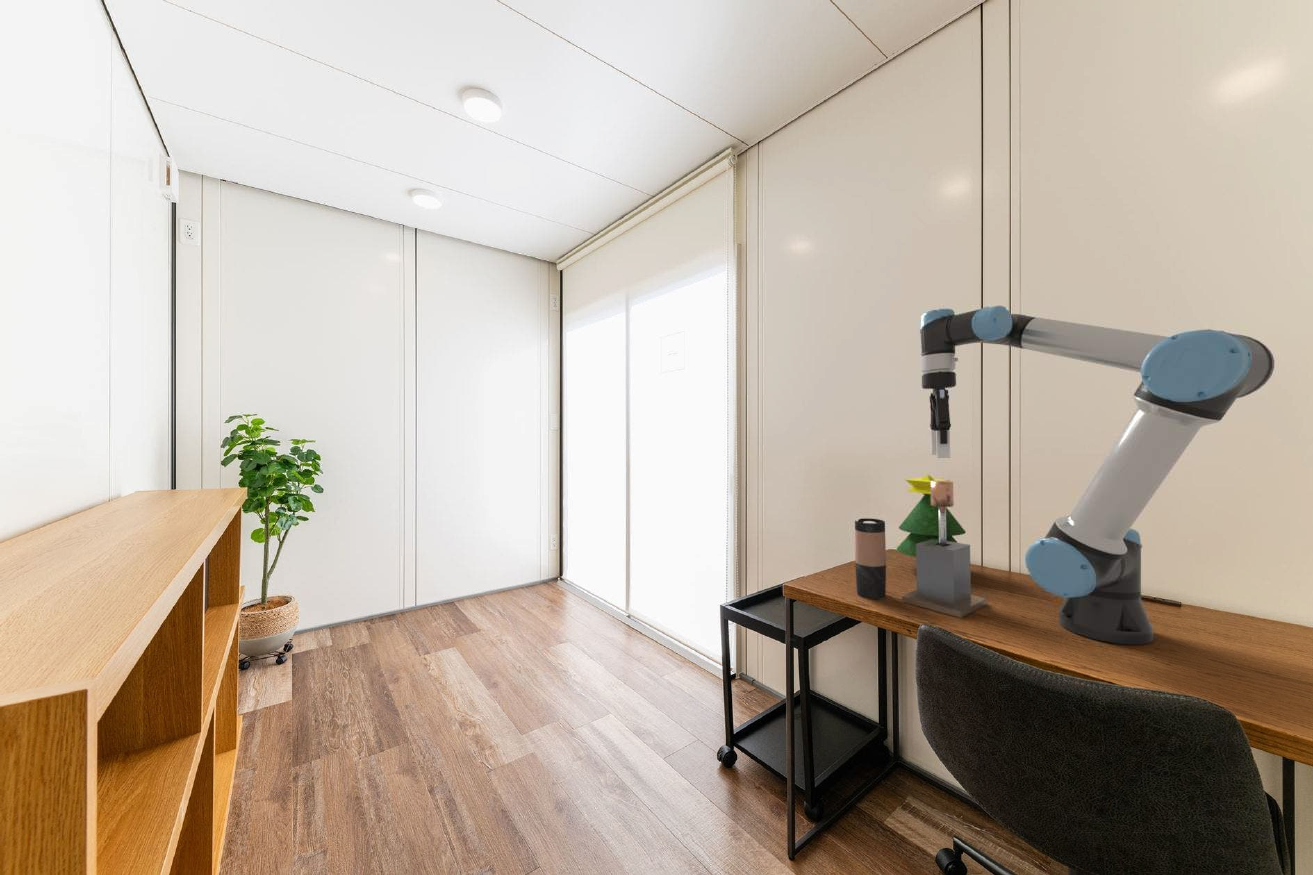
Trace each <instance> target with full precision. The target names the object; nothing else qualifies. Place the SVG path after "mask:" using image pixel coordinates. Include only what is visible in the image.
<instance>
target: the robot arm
mask: <svg viewBox="0 0 1313 875" xmlns="http://www.w3.org/2000/svg"><path fill="white" fill-rule="evenodd" d="M919 332H920V342H921V343H920V344H921V345H920V346H921V347H920V348H921V356H920V370H921V372H922V373H923V374H922V375H921V388H922V389H924V390H932V392H930V395H929V403H930V405H929V407H930V424H929V427H930V431H931V432H930V439H931V440H930V443H931V455H933V456H935V455H936V458H937V459H950V458H951V438H950V437H951V436H950V434H951V433H950V430H951V427H952V426H951V425H952V424H951V417H950V403H949V401H950V394H949V390H948V389H950V388H954V387H956V386H957V374H956V372H955V370H956V363H957V362H959V358H958V357H956V347H960V346H962V345H963V346H964V345H970V344H977V343H978V344H979V343H980V344H988V345H990V344H992V345H1003V346H1006V347H1007V346H1008V347H1011V348H1012V347H1013V348H1017V349H1022V350H1028V351H1033V352H1039V353H1043V354H1048V355H1054V356H1057V357H1063V358H1068V359H1073V360H1077V361H1082V362H1087V363H1092V364H1096V365H1101V366H1108V367H1110V368H1111V367H1112V368H1115V369H1122V370H1125V371H1126V370H1127V371H1131V372H1136V373H1140V376H1141V381H1140V384H1139V385H1138V386H1137V389H1136V390H1135V392H1134V393H1133V395H1132V397H1133V400H1134V402H1135V403H1136V406H1137V408H1136V410H1135V412H1134V413H1133V415H1132V416H1131V418H1130V419H1129V421H1128V423H1127V425H1126V426H1125V427H1124V429H1123V431H1122V432H1121V434H1120V436H1119V437H1118V439H1117V440H1116V442H1115V443H1114V445H1113V447H1112V448H1111V449H1110V450H1109V453H1108V454H1107V456H1106V458H1105V459H1104V460H1103V463H1102V464H1101V465H1100V467H1099V468H1098V470H1097V472H1096V474H1094V477H1093V478H1092V479H1091V481H1090V483H1089V485H1088V486H1087V487H1086V489H1085V491H1084V492H1083V494H1082V496H1081V497H1080V498H1079V500H1078V502H1077V503H1076V505H1075V507H1074V508H1073V510H1072V511H1071V513H1070V514H1069V515H1066V516H1060V517H1057V518H1056V520H1055V521H1054V522H1053V524H1052V526H1051V527H1050V529H1049V531H1048V532H1047V534H1046V535H1045V536H1044V538H1041V539H1038V540H1037V541H1035V542H1034V543H1032V544H1031V545H1030V546H1029V547H1028V548H1027V551H1026V552H1025V555H1024V556H1025V558H1024V559H1025V561H1024V562H1025V566H1026V569H1027V571H1028V573H1029V575H1030V578H1032V580H1033V581H1034V582H1035V584H1037V585H1038V586H1039V587H1041V588H1042V589H1043V590H1045V591H1046V592H1048V593H1049V594H1052V595H1055V596H1057V597H1061V598H1064V600H1063V602H1062V604H1061V607H1060V610H1059V612H1058V621H1059V622H1058V623H1059V624H1060V626H1061V627H1063V628H1064V629H1066V630H1068V631H1069V632H1072V633H1074V634H1077V635H1080V636H1082V635H1083V637H1086V638H1090V639H1093V640H1098V641H1100V642H1101V641H1102V642H1107V643H1113V644H1121V645H1129V646H1130V645H1133V646H1134V645H1136V646H1137V645H1146V644H1151V643H1152V642H1153V641H1154V628H1153V625H1152V623H1151V621H1150V618H1149V616H1148V613H1147V611H1146V609H1145V607H1144V604H1143V602H1142V548H1143V545H1142V542H1141V535H1140V533H1139V531H1137V530H1136V529H1134V528H1132V526H1133V525H1134V524H1135V522H1136V520H1137V519H1138V518H1139V517H1140V515H1141V513H1142V512H1143V511H1144V509H1145V508H1146V507H1147V505H1148V504H1149V502H1150V501H1151V499H1152V498H1153V496H1155V494H1156V492H1157V490H1158V489H1159V488H1160V486H1161V485H1162V483H1163V482H1164V481H1165V479H1166V478H1167V476H1168V475H1169V474H1170V472H1171V471H1172V469H1173V468H1174V466H1175V465H1176V464H1177V462H1178V461H1179V459H1180V458H1181V457H1182V455H1183V454H1184V452H1185V450H1186V449H1187V448H1188V447H1189V445H1190V444H1191V443H1192V441H1193V440H1194V438H1195V436H1197V433H1198V432H1199V431H1200V430H1201V428H1203V427H1205V426H1208V425H1212V424H1217V423H1219V422H1221V421H1222V419H1223V418H1224V417H1225V416H1226V414H1227V412H1228V411H1229V410H1230V409H1231V407H1232V405H1233V404H1234V402H1236V399H1240V398H1243V397H1246V396H1249V395H1251V394H1252V393H1255V392H1257V391H1258V390H1259V389H1261V388H1262V387H1263V386H1265V385H1266V384H1267V383H1268V381H1269V380H1270V379H1271V377H1272V376H1273V372H1274V370H1275V359H1274V355H1273V353H1272V351H1271V350H1270V348H1268V347H1267V345H1266V344H1264V343H1263V342H1261V341H1260V340H1258V339H1255V338H1253V337H1250V336H1247V335H1243V334H1235V333H1231V332H1226V331H1223V330H1214V329H1198V330H1189V331H1185V332H1180V333H1176V334H1174V335H1172V336H1171V335H1170V336H1165V335H1159V334H1153V333H1146V332H1139V331H1132V330H1125V329H1118V328H1111V327H1105V326H1098V325H1093V324H1091V325H1090V324H1084V323H1077V322H1072V321H1071V322H1070V321H1063V320H1058V319H1057V320H1056V319H1049V318H1045V317H1044V318H1043V317H1036V316H1030V315H1026V314H1021V313H1020V314H1019V313H1011V312H1010V311H1009V310H1008V309H1007V307H1006V306H1004V305H994V306H986V307H985V306H984V307H983V308H979V309H975V310H972V311H971V310H970V311H967V312H962V313H958V314H955V311H954V309H951V308H938V309H932V310H928V311H925V312H924V313H923V314H921V317H920V329H919Z"/></svg>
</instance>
